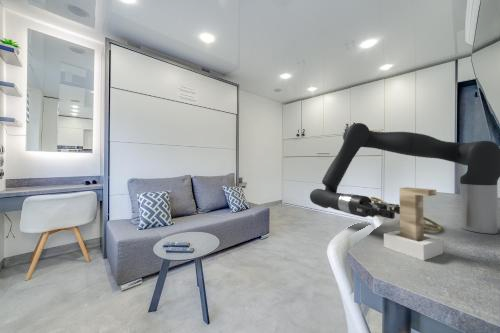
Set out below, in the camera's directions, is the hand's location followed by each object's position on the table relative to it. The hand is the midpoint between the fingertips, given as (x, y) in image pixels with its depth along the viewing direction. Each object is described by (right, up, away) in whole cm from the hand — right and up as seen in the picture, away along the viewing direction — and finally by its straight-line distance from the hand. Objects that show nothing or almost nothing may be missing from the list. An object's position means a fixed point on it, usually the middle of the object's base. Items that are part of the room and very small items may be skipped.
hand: (402, 213), depth 60 cm
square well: (+1, -10, -2) cm, 10 cm away
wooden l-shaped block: (+2, -10, -3) cm, 11 cm away
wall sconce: (+24, -9, +13) cm, 29 cm away
